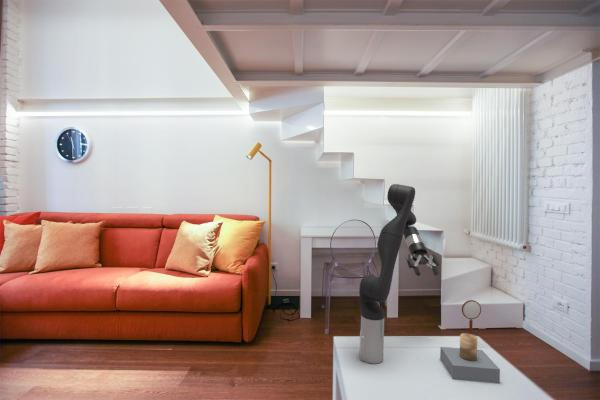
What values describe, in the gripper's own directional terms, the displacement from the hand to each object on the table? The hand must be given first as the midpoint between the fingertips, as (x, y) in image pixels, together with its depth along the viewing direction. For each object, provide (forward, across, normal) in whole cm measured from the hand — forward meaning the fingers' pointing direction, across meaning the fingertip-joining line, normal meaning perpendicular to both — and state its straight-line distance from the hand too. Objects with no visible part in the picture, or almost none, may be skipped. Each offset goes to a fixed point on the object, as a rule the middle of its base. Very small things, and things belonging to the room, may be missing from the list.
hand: (428, 275), depth 142 cm
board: (+38, +4, +5) cm, 39 cm away
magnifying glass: (+24, +19, +19) cm, 37 cm away
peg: (+38, +4, +5) cm, 39 cm away
